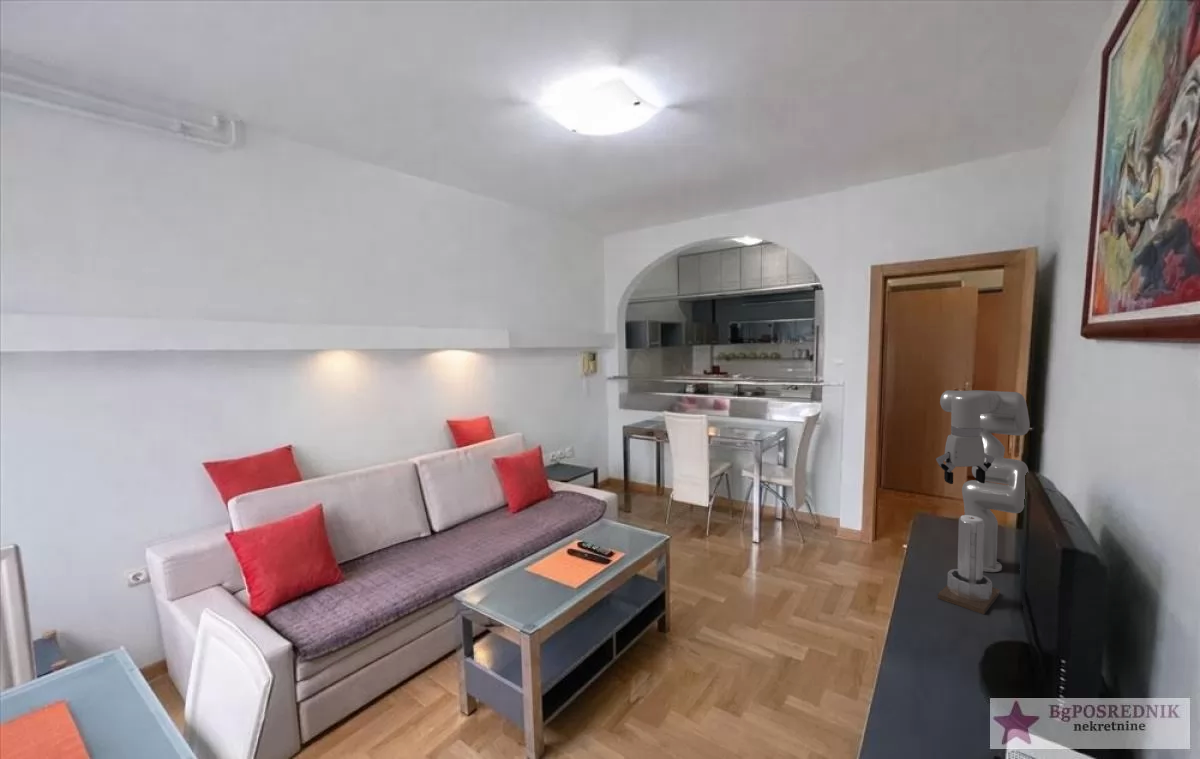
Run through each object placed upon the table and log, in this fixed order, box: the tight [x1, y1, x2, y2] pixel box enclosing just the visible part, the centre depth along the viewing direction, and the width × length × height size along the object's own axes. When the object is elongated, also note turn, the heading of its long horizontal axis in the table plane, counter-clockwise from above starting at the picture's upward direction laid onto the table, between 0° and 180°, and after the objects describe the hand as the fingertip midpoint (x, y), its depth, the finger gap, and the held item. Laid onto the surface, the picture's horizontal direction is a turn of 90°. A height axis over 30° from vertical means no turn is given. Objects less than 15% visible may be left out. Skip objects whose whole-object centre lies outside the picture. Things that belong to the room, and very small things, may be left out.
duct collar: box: [937, 568, 1001, 615], centre depth 152 cm, size 18×12×6 cm, turn 128°
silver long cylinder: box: [957, 514, 984, 584], centre depth 151 cm, size 6×6×25 cm
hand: (964, 482), depth 154 cm, fingers open, 9 cm apart
